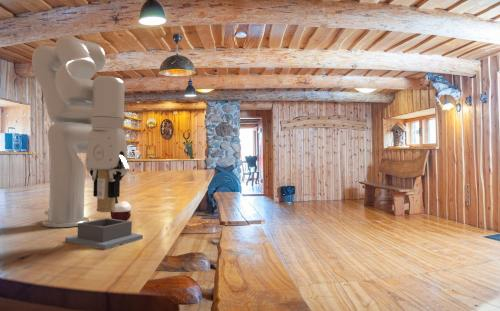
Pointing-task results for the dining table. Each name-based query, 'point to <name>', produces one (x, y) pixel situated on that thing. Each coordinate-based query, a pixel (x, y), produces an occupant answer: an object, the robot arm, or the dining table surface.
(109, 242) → the bottle stand
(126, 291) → the dining table surface
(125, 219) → the cocoa
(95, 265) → the dining table surface
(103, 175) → the sprinkles bottle
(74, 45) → the robot arm
